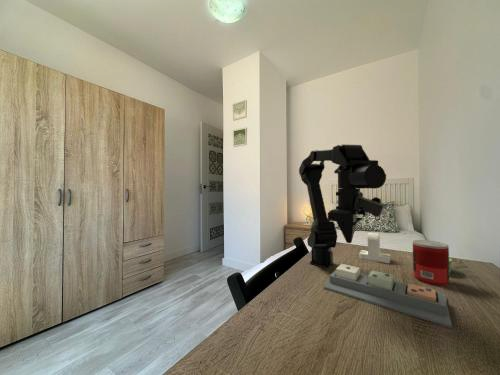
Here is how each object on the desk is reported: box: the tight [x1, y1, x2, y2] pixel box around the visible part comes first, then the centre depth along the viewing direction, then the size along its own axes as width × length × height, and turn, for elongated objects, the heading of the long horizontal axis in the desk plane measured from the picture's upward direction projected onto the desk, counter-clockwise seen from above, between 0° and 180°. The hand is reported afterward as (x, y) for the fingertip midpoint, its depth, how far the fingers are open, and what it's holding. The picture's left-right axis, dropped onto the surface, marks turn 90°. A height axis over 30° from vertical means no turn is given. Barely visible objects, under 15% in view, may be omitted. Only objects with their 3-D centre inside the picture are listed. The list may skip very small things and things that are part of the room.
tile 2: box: [368, 270, 395, 291], centre depth 53 cm, size 5×5×2 cm
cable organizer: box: [358, 232, 391, 264], centre depth 79 cm, size 5×10×10 cm, turn 52°
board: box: [323, 269, 453, 329], centre depth 53 cm, size 25×14×2 cm, turn 49°
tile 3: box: [407, 283, 436, 302], centre depth 48 cm, size 5×5×2 cm
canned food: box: [412, 239, 450, 287], centre depth 60 cm, size 8×8×11 cm
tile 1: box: [335, 263, 361, 281], centre depth 58 cm, size 5×5×2 cm
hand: (349, 242), depth 58 cm, fingers closed
